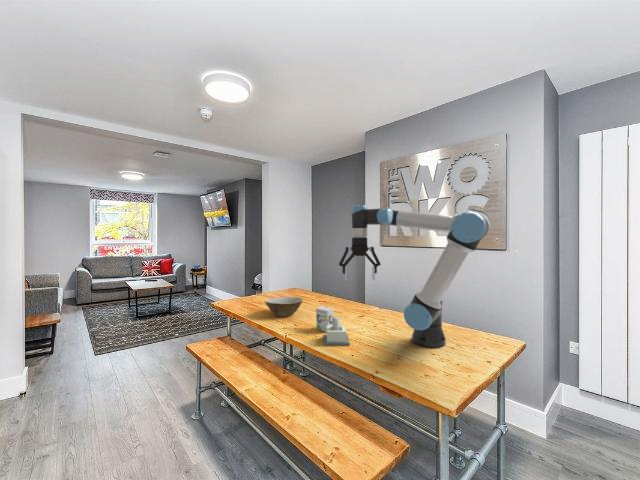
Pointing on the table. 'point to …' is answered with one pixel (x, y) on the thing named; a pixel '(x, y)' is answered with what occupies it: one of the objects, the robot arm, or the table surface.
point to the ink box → (323, 317)
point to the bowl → (284, 305)
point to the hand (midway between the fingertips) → (359, 280)
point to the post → (336, 327)
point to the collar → (336, 334)
